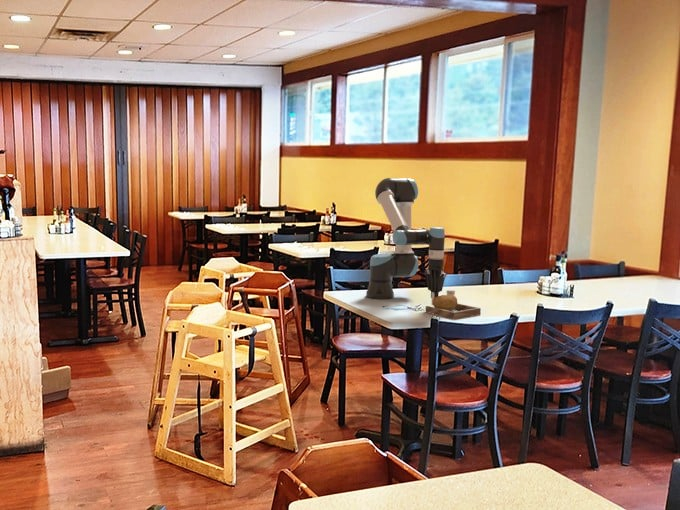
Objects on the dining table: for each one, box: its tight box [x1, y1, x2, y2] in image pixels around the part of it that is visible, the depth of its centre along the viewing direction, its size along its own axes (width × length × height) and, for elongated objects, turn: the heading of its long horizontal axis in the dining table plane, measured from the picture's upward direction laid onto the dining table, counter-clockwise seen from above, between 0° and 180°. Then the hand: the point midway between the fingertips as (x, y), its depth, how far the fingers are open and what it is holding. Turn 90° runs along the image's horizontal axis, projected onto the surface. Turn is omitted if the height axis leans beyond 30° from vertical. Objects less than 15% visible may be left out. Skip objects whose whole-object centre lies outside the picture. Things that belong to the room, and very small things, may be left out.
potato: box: [431, 294, 458, 311], centre depth 350 cm, size 10×14×8 cm
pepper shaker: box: [446, 289, 456, 297], centre depth 362 cm, size 4×4×8 cm
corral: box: [425, 302, 482, 320], centre depth 346 cm, size 19×19×3 cm
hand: (434, 304), depth 355 cm, fingers closed
